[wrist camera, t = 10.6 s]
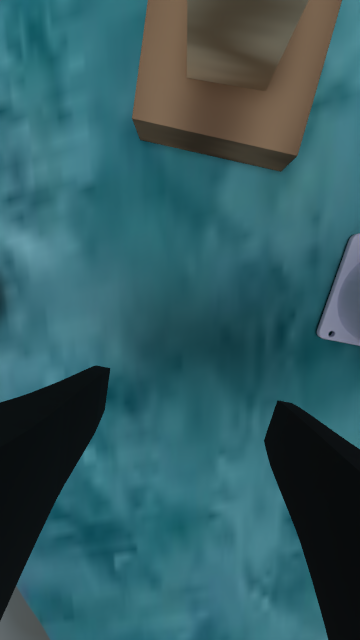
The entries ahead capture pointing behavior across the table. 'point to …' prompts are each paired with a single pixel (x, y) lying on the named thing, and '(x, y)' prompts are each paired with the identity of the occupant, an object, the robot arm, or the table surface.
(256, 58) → the maple block
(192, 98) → the walnut block
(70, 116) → the table surface
